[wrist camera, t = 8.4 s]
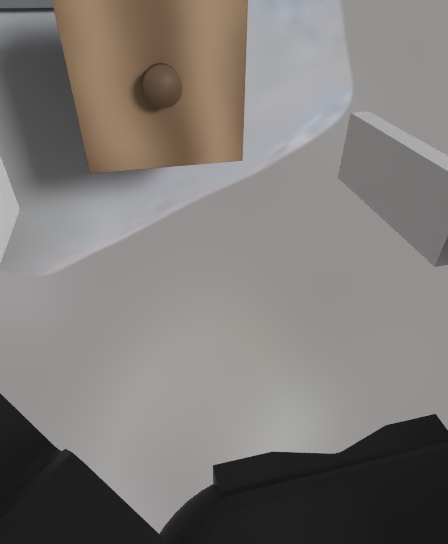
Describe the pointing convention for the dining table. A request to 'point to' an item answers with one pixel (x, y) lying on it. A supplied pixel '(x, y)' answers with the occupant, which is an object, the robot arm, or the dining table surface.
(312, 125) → the dining table surface
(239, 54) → the lid
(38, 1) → the mat
